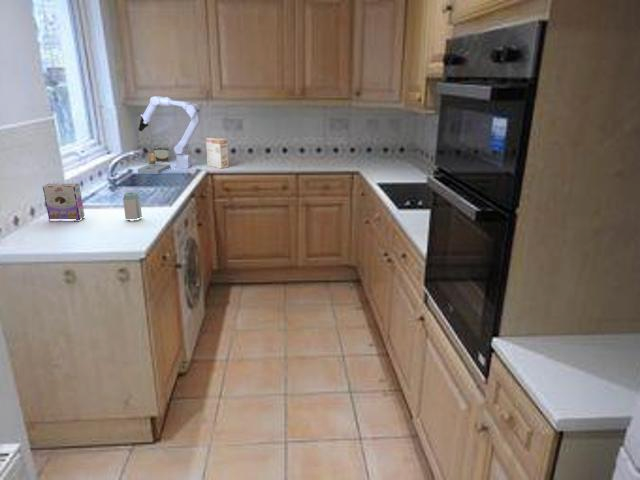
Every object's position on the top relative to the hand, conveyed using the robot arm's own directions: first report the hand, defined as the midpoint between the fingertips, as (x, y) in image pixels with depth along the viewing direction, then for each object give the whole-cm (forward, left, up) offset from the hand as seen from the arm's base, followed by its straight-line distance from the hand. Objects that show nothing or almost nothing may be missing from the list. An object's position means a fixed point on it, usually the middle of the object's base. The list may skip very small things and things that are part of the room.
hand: (140, 128), depth 330 cm
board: (-15, +14, -25) cm, 32 cm away
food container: (-6, -19, -25) cm, 32 cm away
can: (-56, +117, -25) cm, 132 cm away
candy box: (-27, +123, -25) cm, 129 cm away
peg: (-7, +1, -25) cm, 26 cm away
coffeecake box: (-51, -8, -25) cm, 57 cm away
